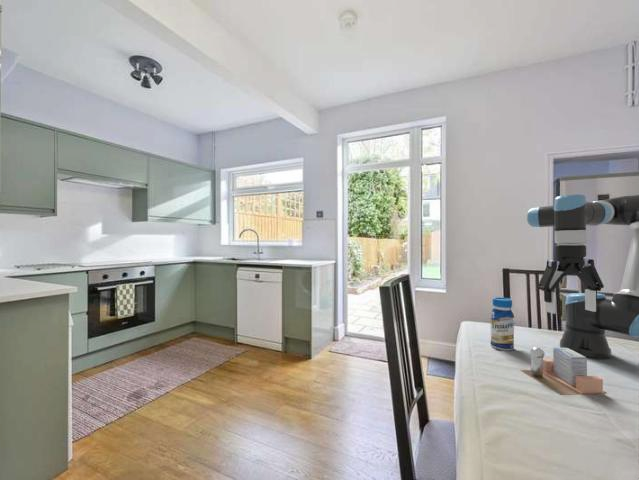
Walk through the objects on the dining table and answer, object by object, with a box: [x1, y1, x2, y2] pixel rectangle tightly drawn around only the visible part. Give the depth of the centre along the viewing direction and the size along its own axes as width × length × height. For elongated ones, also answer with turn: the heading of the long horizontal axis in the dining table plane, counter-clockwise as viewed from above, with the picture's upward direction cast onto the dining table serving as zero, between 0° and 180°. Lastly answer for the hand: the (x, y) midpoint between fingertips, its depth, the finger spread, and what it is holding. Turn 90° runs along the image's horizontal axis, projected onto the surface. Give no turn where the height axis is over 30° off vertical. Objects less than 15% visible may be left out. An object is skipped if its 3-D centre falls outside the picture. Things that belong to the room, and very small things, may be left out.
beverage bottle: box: [489, 296, 515, 351], centre depth 119 cm, size 8×8×20 cm
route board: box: [520, 369, 607, 396], centre depth 89 cm, size 14×15×1 cm
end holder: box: [543, 358, 605, 395], centre depth 88 cm, size 7×14×4 cm, turn 4°
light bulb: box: [529, 346, 545, 378], centre depth 92 cm, size 4×4×9 cm
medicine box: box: [552, 346, 588, 386], centre depth 88 cm, size 8×4×9 cm, turn 173°
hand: (570, 311), depth 91 cm, fingers open, 13 cm apart
